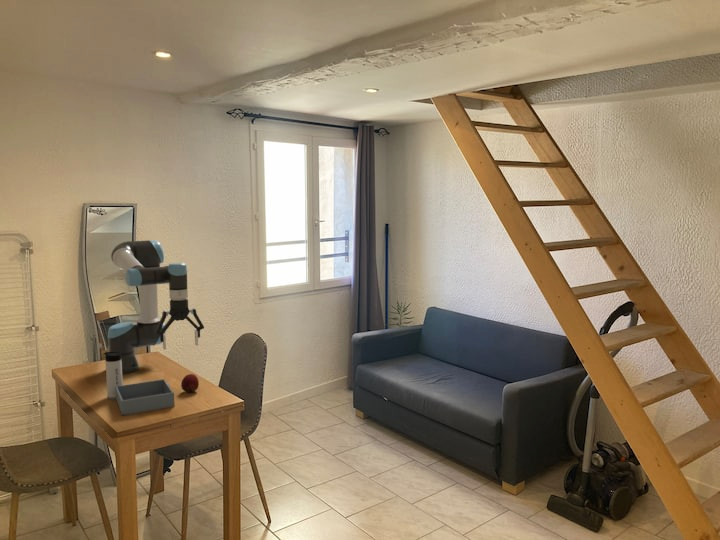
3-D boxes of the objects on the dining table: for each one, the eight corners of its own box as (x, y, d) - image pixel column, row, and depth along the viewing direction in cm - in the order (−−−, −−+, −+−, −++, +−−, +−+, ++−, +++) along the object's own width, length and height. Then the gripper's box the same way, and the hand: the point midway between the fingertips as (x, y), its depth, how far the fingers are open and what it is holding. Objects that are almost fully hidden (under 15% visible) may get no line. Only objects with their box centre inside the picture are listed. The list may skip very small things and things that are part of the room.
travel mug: (109, 394, 242) (107, 350, 239) (125, 394, 242) (123, 350, 240) (104, 399, 236) (102, 354, 233) (120, 399, 236) (118, 354, 234)
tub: (116, 400, 236) (115, 386, 235) (164, 392, 246) (164, 379, 245) (122, 415, 218) (121, 401, 218) (174, 406, 228) (173, 392, 228)
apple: (202, 390, 249) (202, 372, 248) (192, 395, 241) (191, 378, 240) (188, 388, 251) (188, 371, 250) (177, 393, 244) (177, 376, 243)
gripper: (149, 302, 230) (152, 352, 232) (209, 297, 242) (211, 345, 244) (147, 300, 236) (149, 348, 238) (205, 295, 248) (207, 341, 250)
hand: (180, 347), depth 241 cm, fingers open, 13 cm apart
